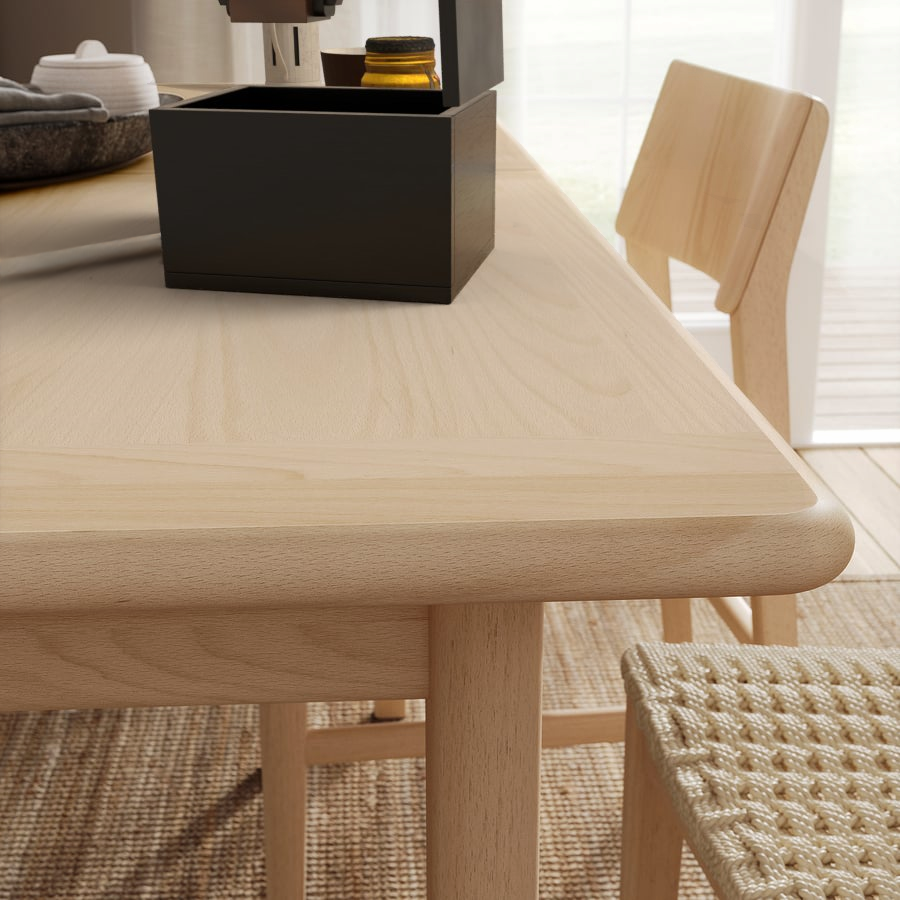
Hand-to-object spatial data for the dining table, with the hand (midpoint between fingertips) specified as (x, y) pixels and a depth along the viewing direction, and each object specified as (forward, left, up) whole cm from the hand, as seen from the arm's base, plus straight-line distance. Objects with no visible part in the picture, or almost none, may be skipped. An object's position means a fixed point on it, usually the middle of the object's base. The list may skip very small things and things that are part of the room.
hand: (281, 14), depth 67 cm
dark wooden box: (+2, +2, -15) cm, 15 cm away
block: (0, 0, 0) cm, 0 cm away
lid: (+9, +6, +5) cm, 12 cm away
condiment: (-12, +20, -15) cm, 27 cm away
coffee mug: (-24, +26, -15) cm, 38 cm away
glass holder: (-82, +61, -15) cm, 103 cm away
